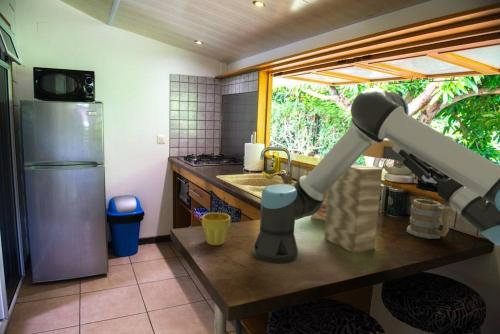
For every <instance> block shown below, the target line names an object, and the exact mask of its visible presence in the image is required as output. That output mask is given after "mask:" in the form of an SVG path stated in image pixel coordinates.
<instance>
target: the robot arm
mask: <svg viewBox="0 0 500 334" xmlns="http://www.w3.org/2000/svg"><path fill="white" fill-rule="evenodd" d="M350 106H351V107H350V115H351V119H350V122H351V125H350V127H349V128H348V129H347V130H346V131H345V132H344V134H343V135H342V136H341V137H340V138H339V139H338V141H337V142H336V143H335V144H334V145H333V146H332V147H331V148H330V149H329V151H328V152H327V153H326V154H325V155H324V156H323V157H322V159H321V160H320V161H319V162H318V163H317V165H315V167H314V168H313V169H312V170H311V171H310V173H309V174H308V175H302V176H300V177H299V178H298V179H297V181H296V182H295V183H294V184H293V185H292V184H291V185H290V184H286V183H285V184H284V183H279V184H278V183H277V184H271V185H268V186H266V187H264V188H263V189H262V191H261V197H260V212H259V213H260V214H259V217H260V218H259V219H260V220H259V232H258V235H257V236H256V240H255V242H254V245H253V256H254V257H255V258H256V259H258V260H261V261H262V262H267V263H269V264H270V263H271V264H273V263H274V264H287V263H288V264H289V263H291V262H294V261H296V260H297V259H298V256H299V248H298V243H297V241H296V237H295V226H296V225H295V221H297V220H300V219H304V218H306V217H307V218H308V217H311V215H313V214H315V213H316V212H317V211H319V210H320V208H321V207H322V205H323V201H324V200H325V199H326V197H327V196H326V192H327V191H328V190H329V189H330V188H331V187H332V185H333V184H334V183H335V182H336V181H337V180H338V179H339V178H340V177H341V176H342V175H343V174H344V173H345V172H346V171H347V170H348V169H349V168H350V167H351V166H352V165H353V164H356V162H357V160H358V159H359V158H360V157H362V155H363V153H364V152H365V151H366V150H367V149H368V148H369V147H370V146H371V145H372V144H374V143H381V142H382V141H383V140H384V139H385V140H390V141H392V142H393V143H395V145H394V146H393V148H392V149H393V150H394V151H395V152H396V153H397V154H399V155H400V156H401V157H402V158H403V159H404V161H402V164H403V165H404V166H405V167H406V168H407V169H408V170H410V171H411V172H412V173H413V174H414V175H415V176H416V177H417V178H418V180H420V181H421V183H422V184H424V185H426V184H427V183H430V184H431V185H432V186H434V187H436V188H437V196H438V197H440V198H441V199H442V200H443V201H444V202H445V203H447V204H449V207H453V208H454V209H455V210H456V213H457V215H460V216H461V217H463V218H464V219H465V220H466V221H467V222H468V223H469V224H470V225H471V226H473V227H474V228H475V229H476V230H477V232H479V233H480V234H481V235H482V236H484V237H485V238H486V239H488V240H489V241H490V242H492V243H493V244H494V245H496V246H500V165H499V164H497V163H496V162H493V161H492V160H489V159H488V158H486V157H485V156H482V155H480V154H479V153H477V152H475V151H474V150H472V149H470V148H468V147H466V146H464V145H463V144H461V143H459V142H458V141H456V140H454V139H452V138H450V137H449V136H447V135H445V134H443V133H441V132H439V131H437V130H436V129H434V128H433V127H430V126H429V125H427V124H425V123H424V122H421V121H420V120H418V119H417V118H414V117H413V116H411V115H409V106H408V102H407V100H406V99H405V98H403V96H401V95H400V94H398V93H396V92H394V91H390V90H384V89H381V88H375V87H373V88H368V89H365V90H362V91H361V92H360V93H358V94H357V95H356V96H355V97H354V99H353V101H352V103H351V105H350ZM412 155H414V156H416V157H418V158H419V159H421V160H422V161H424V163H422V162H421V161H419V160H418V159H417V158H415V157H414V156H412Z"/></svg>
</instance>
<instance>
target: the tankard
mask: <svg viewBox="0 0 500 334" xmlns="http://www.w3.org/2000/svg"><path fill="white" fill-rule="evenodd" d="M410 212H411V215H410V217H409V224H410V225H408V226H407V227H406V233H408V234H410V235H412V236H415V237H418V238H424V239H429V240H430V239H431V240H432V239H433V240H434V239H440V238H441V237H446V235H447V234H448V233H449V231H450V225H449V224H450V223H449V213H450V214H451V215H456V213H457V211H456V210H455V209H454V208H453V207H451V206H446V207H442V206H441V202H438V201H435V200H430V199H422V198H420V199H419V198H417V199H413V203H412V204H411V206H410ZM440 217H441V219H440ZM441 223H442V229H441V230H440V227H441Z"/></svg>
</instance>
